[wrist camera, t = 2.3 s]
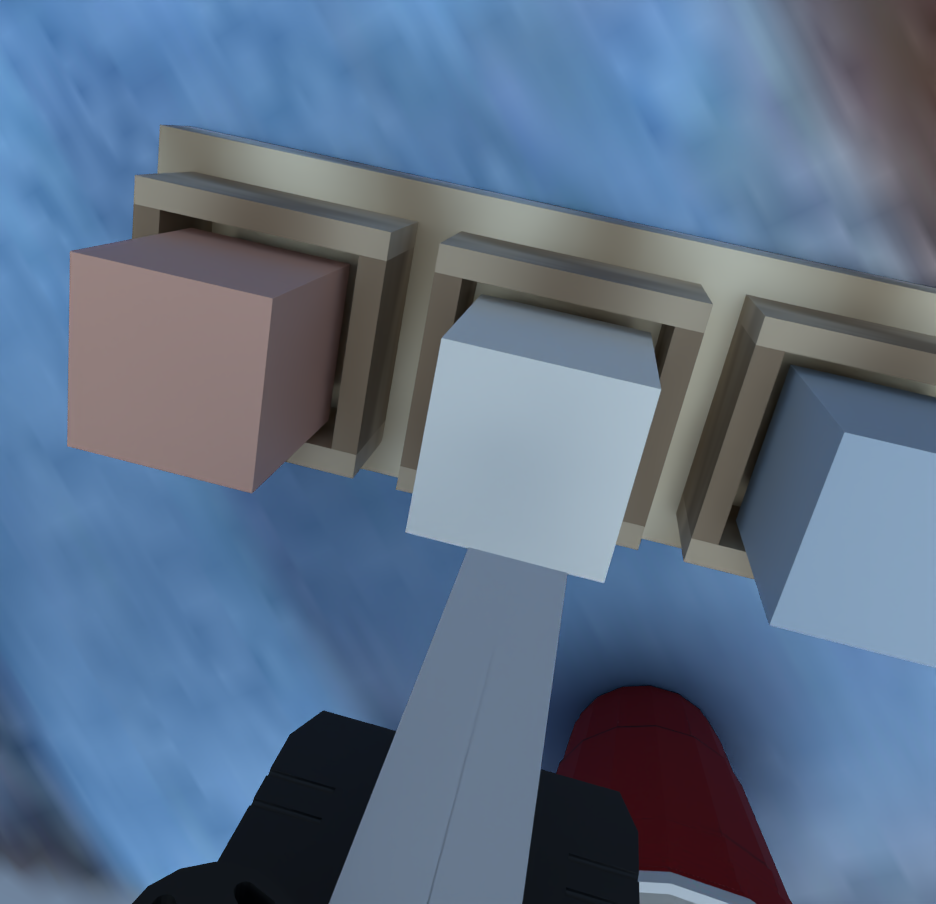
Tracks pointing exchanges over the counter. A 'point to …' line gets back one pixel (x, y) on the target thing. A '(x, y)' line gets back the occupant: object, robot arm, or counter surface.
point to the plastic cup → (675, 798)
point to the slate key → (847, 515)
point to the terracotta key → (201, 353)
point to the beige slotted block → (556, 288)
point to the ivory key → (534, 435)
